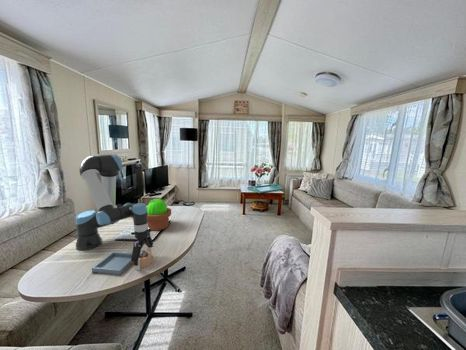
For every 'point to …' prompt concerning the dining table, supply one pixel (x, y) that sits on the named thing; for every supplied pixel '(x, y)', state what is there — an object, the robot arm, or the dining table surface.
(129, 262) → the tray
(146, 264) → the tan round bowl
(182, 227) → the dining table surface
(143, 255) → the dark grey rounded piece
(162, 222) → the potted cactus
